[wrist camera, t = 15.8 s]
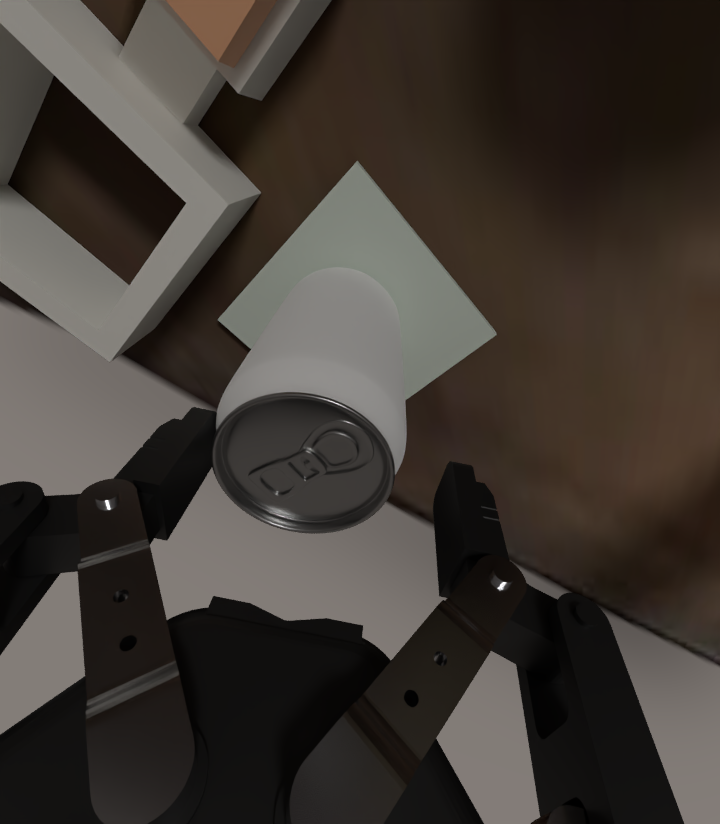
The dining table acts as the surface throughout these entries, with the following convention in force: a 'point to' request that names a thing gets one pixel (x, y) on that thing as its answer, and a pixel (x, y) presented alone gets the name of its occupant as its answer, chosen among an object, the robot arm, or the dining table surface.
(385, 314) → the can
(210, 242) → the white piece
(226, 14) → the light brown square block
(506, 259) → the dining table surface
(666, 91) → the dining table surface
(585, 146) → the dining table surface
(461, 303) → the pad
